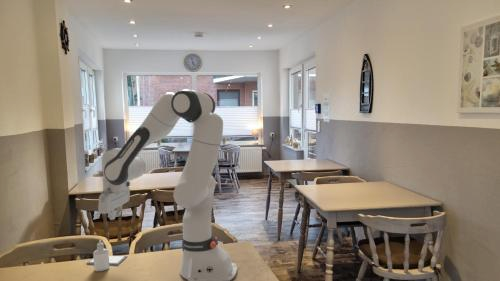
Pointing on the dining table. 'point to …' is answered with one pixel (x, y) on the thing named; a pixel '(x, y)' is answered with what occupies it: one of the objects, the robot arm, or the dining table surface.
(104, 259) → the eye dropper bottle
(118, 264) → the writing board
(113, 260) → the paper
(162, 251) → the dining table surface
